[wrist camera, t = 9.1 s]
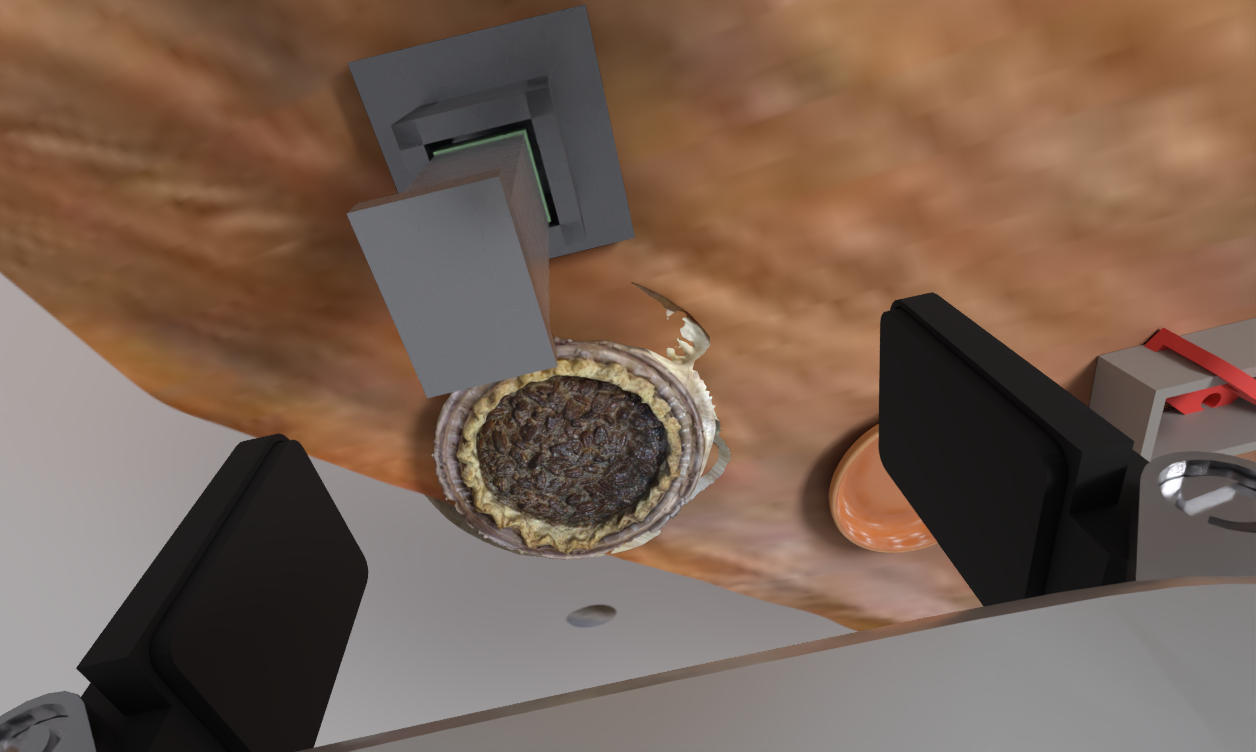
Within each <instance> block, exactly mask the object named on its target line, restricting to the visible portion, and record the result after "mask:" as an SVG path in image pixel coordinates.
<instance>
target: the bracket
mask: <svg viewBox="0 0 1256 752" xmlns="http://www.w3.org/2000/svg"><path fill="white" fill-rule="evenodd" d="M1144 347H1146V348H1148V349H1150V350H1152V351H1154V352H1157V351H1161V350H1165V349H1170V350H1172V351H1174V352H1176V353H1178V354H1179V355H1181V356H1183V357H1185V358H1187V359H1188V360H1190V361H1192V362H1194V363H1196V364H1197V365H1199V366H1201V367H1203V368H1205V369H1206V370H1208V371H1210V372H1212V373H1214V374H1216V375H1217V376H1219V377H1220V378H1221V379H1223V380H1224V381H1225V382H1227V384H1223V385H1219V386H1215V387H1211V388H1207V389H1202V390H1198V391H1194V392H1190V393H1186V394H1182V395H1178V396H1173V397H1169V398H1166V402H1167V403H1168V404H1170V405H1171V406H1173V407H1174V408H1175V409H1177V410H1179V411H1180V412H1182V413H1183V414H1185V415H1186V414H1190V413H1194V412H1198V411H1202V410H1205V409H1203V408H1202V407H1201V403H1203V404H1205V405H1207V406H1209V407H1211V408H1214V407H1218V406H1223V405H1227V404H1231V403H1232V402H1233V401H1235V400H1236V399H1237V398H1238V397H1239V396H1240V397H1242V398H1243V399H1245V400H1247V401H1249V402H1251V403H1252V404H1254V405H1256V379H1254V378H1253V377H1251V376H1249V375H1248V374H1246V373H1245V372H1243V371H1241V370H1240V369H1238V368H1237V367H1235V366H1233V365H1231V364H1230V363H1228V362H1226V361H1225V360H1223V359H1221V358H1219V357H1217V356H1216V355H1214V354H1212V353H1210V352H1208V351H1206V350H1204V349H1203V348H1201V347H1199V346H1197V345H1195V344H1193V343H1191V342H1189V341H1187V340H1186V339H1184V338H1182V337H1180V336H1178V335H1176V334H1174V333H1172V332H1170V331H1169V330H1167V329H1165V328H1162V329H1161V330H1160V331H1159V332H1158V333H1157V334H1156V335H1155V336H1154V337H1153V338H1152V339H1151V340H1149V341H1148V342H1147V343H1146V344H1145V345H1144ZM1207 396H1208V397H1207ZM1206 397H1207V398H1206ZM1205 398H1206V399H1205ZM1204 399H1205V400H1204Z"/></svg>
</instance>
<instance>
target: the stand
mask: <svg viewBox="0 0 1256 752" xmlns="http://www.w3.org/2000/svg"><path fill="white" fill-rule="evenodd" d="M348 65H349V68H350V70H351V73H352V76H353V78H354V81H355V83H356V86H357V88H358V91H359V93H360V96H361V99H362V101H363V104H364V106H365V109H366V111H367V114H368V116H369V119H370V122H371V124H372V127H373V129H374V132H375V134H376V137H377V140H378V142H379V145H380V147H381V150H382V152H383V155H384V157H385V160H386V163H387V165H388V168H389V170H390V173H391V175H392V178H393V180H394V183H395V186H396V188H397V191H398V193H401V192H405V190H406V189H407V188H408V187H409V186H410V184H411V183H412V182H413V181H414V180H415V178H416V177H417V176H418V175H419V174H420V172H421V171H422V170H423V169H424V168H425V166H426V165H427V164H428V163H429V161H430V160H431V159H432V158H433V157H434V154H433V152H434V151H435V150H436V149H440V148H441V147H442V146H444V145H448V144H452V143H456V142H460V141H464V140H468V139H472V138H476V137H480V136H484V135H488V134H492V133H497V132H501V131H505V130H509V129H513V128H517V127H521V126H526V129H527V133H528V137H529V140H530V144H531V147H532V151H533V155H534V158H535V162H536V165H537V169H538V173H539V176H540V180H541V184H542V187H543V191H544V194H545V198H546V202H547V205H548V209H549V213H550V216H551V222H549V259H550V258H554V257H558V256H562V255H566V254H570V253H574V252H578V251H582V250H587V249H591V248H595V247H599V246H603V245H607V244H611V243H615V242H619V241H623V240H628V239H632V238H635V235H634V231H633V226H632V221H631V217H630V212H629V207H628V203H627V198H626V193H625V188H624V184H623V179H622V174H621V170H620V165H619V160H618V156H617V151H616V146H615V141H614V137H613V132H612V127H611V123H610V118H609V113H608V109H607V104H606V99H605V94H604V90H603V85H602V80H601V76H600V71H599V66H598V62H597V57H596V52H595V47H594V43H593V38H592V33H591V29H590V24H589V19H588V15H587V10H586V5H581V6H577V7H573V8H569V9H565V10H561V11H557V12H553V13H548V14H544V15H540V16H536V17H532V18H528V19H524V20H520V21H516V22H512V23H508V24H504V25H500V26H496V27H492V28H487V29H483V30H479V31H475V32H471V33H467V34H463V35H459V36H455V37H451V38H447V39H443V40H439V41H435V42H431V43H427V44H422V45H418V46H414V47H410V48H406V49H402V50H398V51H394V52H390V53H386V54H382V55H378V56H374V57H370V58H366V59H361V60H357V61H353V62H349V63H348Z"/></svg>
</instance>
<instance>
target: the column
mask: <svg viewBox="0 0 1256 752" xmlns="http://www.w3.org/2000/svg"><path fill="white" fill-rule="evenodd" d="M433 154H434V157H433V158H432V159H431V160H430V161H429V163H428V164H427V165H426V166H425V168H424V169H423V170H422V171H421V172H420V174H419V175H418V176H417V177H416V178H415V180H414V181H413V182H412V183H411V184H410V186H409V187H408V188H407V189H406V190H405V192H401V193H397V194H393V195H389V196H385V197H381V198H377V199H373V200H369V201H364V202H360V203H357V204H356V205H355V206H354V207H353V208H352V209H351V210H350V211H349V212H348V213H347V216H348V218H349V221H350V223H351V225H352V227H353V230H354V232H355V234H356V237H357V239H358V241H359V243H360V246H361V248H362V250H363V252H364V255H365V257H366V259H367V262H368V264H369V266H370V268H371V271H372V273H373V275H374V278H375V280H376V282H377V284H378V287H379V289H380V291H381V294H382V296H383V298H384V300H385V303H386V305H387V307H388V310H389V312H390V314H391V316H392V319H393V321H394V323H395V325H396V328H397V330H398V332H399V335H400V337H401V339H402V341H403V344H404V346H405V348H406V351H407V353H408V355H409V357H410V360H411V362H412V364H413V367H414V369H415V371H416V373H417V376H418V378H419V380H420V383H421V385H422V387H423V389H424V392H425V394H426V396H427V398H431V397H435V396H439V395H443V394H447V393H451V392H455V391H460V390H464V389H468V388H472V387H476V386H480V385H484V384H488V383H493V382H497V381H501V380H505V379H509V378H513V377H517V376H521V375H526V374H530V373H534V372H538V371H542V370H546V369H550V368H554V367H557V349H556V346H555V343H554V339H553V336H552V333H551V329H550V306H549V222H551V216H550V213H549V209H548V205H547V202H546V198H545V194H544V191H543V187H542V184H541V180H540V176H539V173H538V169H537V165H536V162H535V158H534V155H533V151H532V147H531V144H530V140H529V137H528V133H527V129H526V126H521V127H517V128H513V129H509V130H505V131H501V132H497V133H492V134H488V135H484V136H480V137H476V138H472V139H468V140H464V141H460V142H456V143H452V144H448V145H444V146H442V147H441V148H440V149H436V150H435V151H434V152H433Z"/></svg>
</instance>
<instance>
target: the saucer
mask: <svg viewBox="0 0 1256 752" xmlns="http://www.w3.org/2000/svg"><path fill="white" fill-rule="evenodd" d="M878 441H879V424H877V425H875V426H874V427H872V428H871V429H869V430H868V431H867V432H866V433H864V434H863V435H862V436H861V437H860V438H859V439H858V440H856V442H855V443H854V444H853V445H852V446H851V447H850V448H849V449H848V451H847V452H846V453H845V455H844V456H843V458H842V459H841V461H840V462H839V464H838V466H837V468H836V470H835V472H834V474H833V477H832V480H831V484H830V489H829V505H830V510H831V514H832V517H833V520H834V522H835V524H836V526H837V528H838V529H839V531H840V532H841V533H842V534H843V535H844V536H845V537H846V538H847V539H848V540H849V541H851V542H852V543H854V544H856V545H857V546H860V547H862V548H865V549H868V550H871V551H876V552H884V553H900V552H908V551H913V550H918V549H922V548H925V547H928V546H931V545H934V544H936V543H938V542H937V541H936V540H935V538H934V537H933V535H932V534H931V533H930V531H929V530H928V528H927V527H926V526H925V524H924V523H923V522H922V520H921V519H920V517H919V516H918V515H917V513H916V512H915V510H914V509H913V508H912V506H911V505H910V504H909V502H908V501H907V499H906V498H905V497H904V495H903V494H902V492H901V491H900V490H899V488H898V487H897V485H896V484H895V483H894V481H893V480H892V479H891V477H890V476H889V474H888V473H887V472H886V470H885V468H884V467H883V464H882V462H881V459H880V455H879V448H878Z"/></svg>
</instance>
